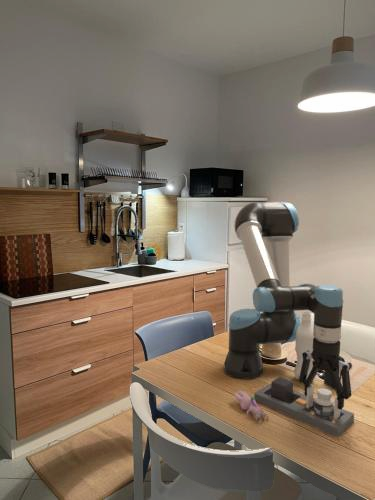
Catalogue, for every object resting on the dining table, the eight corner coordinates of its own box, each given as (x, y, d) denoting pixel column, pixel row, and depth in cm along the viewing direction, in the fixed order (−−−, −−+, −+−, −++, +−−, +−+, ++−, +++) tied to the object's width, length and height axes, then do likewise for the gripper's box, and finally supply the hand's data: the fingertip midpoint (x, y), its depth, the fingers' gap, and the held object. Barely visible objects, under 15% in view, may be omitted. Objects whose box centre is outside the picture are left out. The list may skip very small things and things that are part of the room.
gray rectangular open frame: (253, 400, 125) (254, 379, 124) (272, 388, 133) (273, 369, 132) (337, 437, 106) (338, 413, 105) (353, 421, 113) (355, 399, 112)
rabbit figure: (272, 423, 114) (242, 394, 127) (274, 407, 113) (244, 378, 125) (255, 429, 111) (226, 399, 124) (258, 412, 110) (228, 383, 122)
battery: (345, 389, 133) (347, 357, 131) (336, 391, 131) (338, 359, 130) (331, 380, 139) (333, 350, 138) (323, 382, 138) (324, 352, 136)
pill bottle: (310, 414, 117) (312, 387, 116) (327, 414, 117) (328, 386, 116) (318, 424, 112) (319, 396, 110) (335, 424, 112) (337, 395, 111)
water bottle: (314, 376, 142) (317, 311, 140) (314, 385, 136) (317, 316, 133) (294, 373, 145) (297, 309, 142) (293, 381, 138) (295, 314, 135)
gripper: (288, 333, 116) (285, 403, 119) (357, 352, 101) (352, 432, 104) (300, 327, 121) (297, 395, 124) (368, 344, 107) (363, 421, 109)
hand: (322, 412), depth 114 cm, fingers open, 8 cm apart
